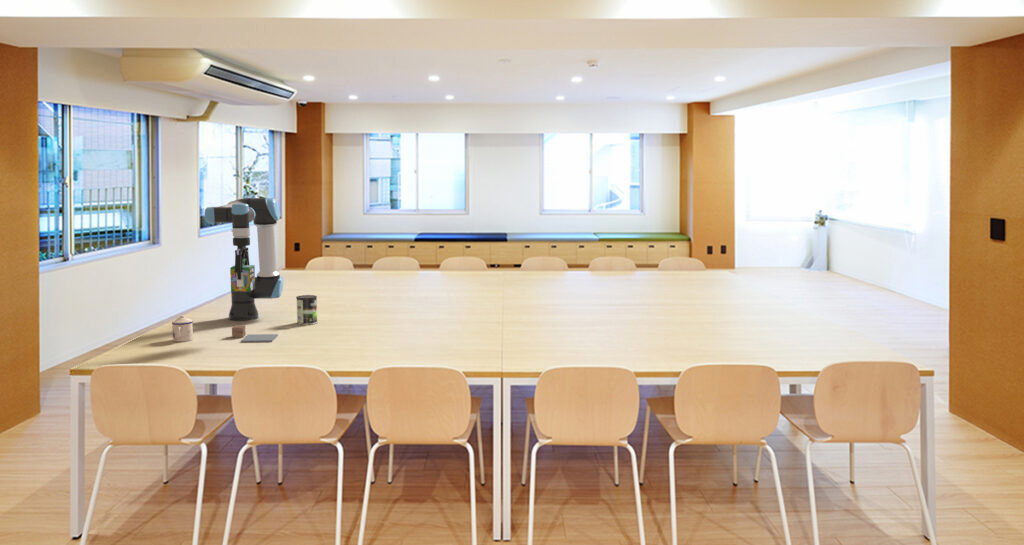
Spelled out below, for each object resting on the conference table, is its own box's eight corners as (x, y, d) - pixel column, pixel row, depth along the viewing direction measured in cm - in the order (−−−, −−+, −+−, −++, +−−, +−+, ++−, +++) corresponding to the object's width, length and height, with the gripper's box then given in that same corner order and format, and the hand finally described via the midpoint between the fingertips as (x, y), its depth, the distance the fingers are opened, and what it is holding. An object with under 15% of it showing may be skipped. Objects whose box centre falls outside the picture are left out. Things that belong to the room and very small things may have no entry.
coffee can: (320, 321, 414) (320, 295, 412) (312, 325, 404) (311, 298, 402) (302, 320, 416) (301, 294, 414) (293, 324, 406) (292, 297, 404)
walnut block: (234, 335, 378) (234, 325, 377) (245, 335, 378) (245, 325, 377) (232, 338, 373) (231, 327, 372) (243, 338, 373) (242, 327, 373)
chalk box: (236, 289, 372) (234, 257, 370) (255, 288, 372) (254, 257, 370) (230, 291, 362) (228, 260, 361) (250, 291, 363) (249, 260, 361)
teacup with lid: (175, 338, 371) (174, 313, 370) (195, 337, 373) (194, 313, 371) (168, 343, 360) (167, 318, 358) (189, 343, 361) (188, 318, 359)
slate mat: (248, 336, 377) (248, 334, 377) (277, 335, 378) (277, 334, 378) (240, 342, 363) (240, 340, 363) (271, 342, 364) (271, 340, 364)
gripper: (239, 235, 375) (241, 281, 378) (226, 239, 353) (228, 288, 356) (255, 235, 375) (257, 281, 378) (243, 239, 354) (244, 288, 356)
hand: (243, 285), depth 367 cm, fingers closed on chalk box, 9 cm apart
